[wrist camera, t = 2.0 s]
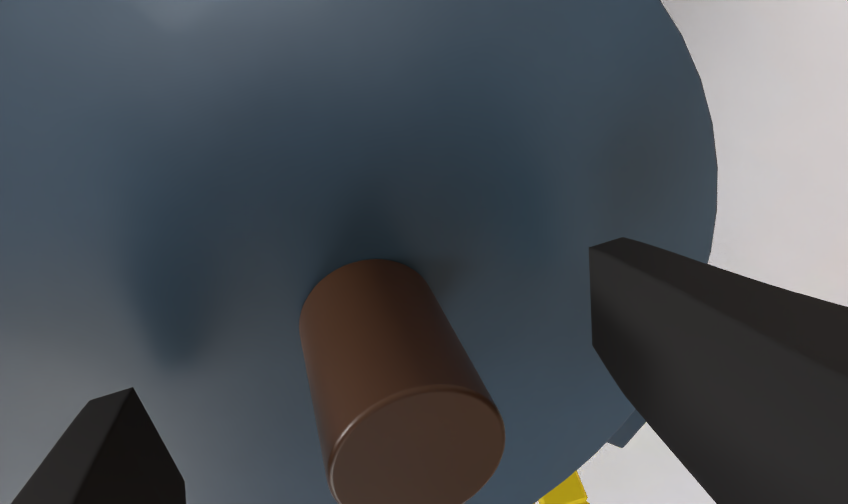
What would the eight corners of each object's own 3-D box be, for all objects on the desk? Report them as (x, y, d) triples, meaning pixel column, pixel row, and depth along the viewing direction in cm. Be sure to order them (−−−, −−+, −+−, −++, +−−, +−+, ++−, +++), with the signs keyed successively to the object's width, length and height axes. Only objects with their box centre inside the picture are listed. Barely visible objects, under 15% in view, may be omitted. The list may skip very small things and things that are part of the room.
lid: (437, 585, 17) (501, 781, 13) (-223, 460, 10) (-486, 780, 6) (801, 153, 13) (1032, 247, 10) (155, -457, 7) (68, -940, 3)
